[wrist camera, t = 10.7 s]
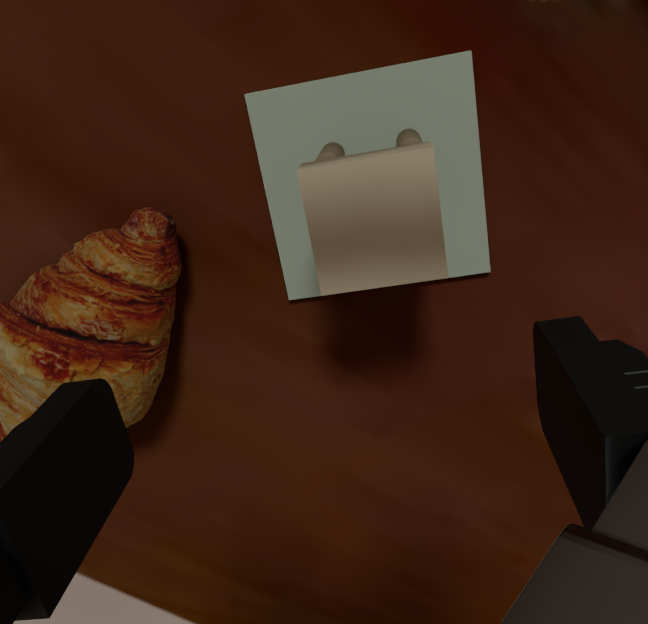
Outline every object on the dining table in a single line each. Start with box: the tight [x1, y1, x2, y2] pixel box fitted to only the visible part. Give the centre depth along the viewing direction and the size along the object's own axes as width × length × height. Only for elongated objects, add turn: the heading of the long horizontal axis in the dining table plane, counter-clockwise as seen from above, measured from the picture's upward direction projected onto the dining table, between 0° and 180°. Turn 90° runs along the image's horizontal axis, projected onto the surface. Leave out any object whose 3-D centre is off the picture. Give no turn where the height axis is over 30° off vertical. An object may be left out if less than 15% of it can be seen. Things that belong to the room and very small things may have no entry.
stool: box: [297, 129, 448, 296], centre depth 28 cm, size 5×5×8 cm
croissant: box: [0, 207, 182, 442], centre depth 35 cm, size 21×10×8 cm, turn 147°
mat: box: [244, 51, 490, 300], centre depth 32 cm, size 11×11×1 cm
